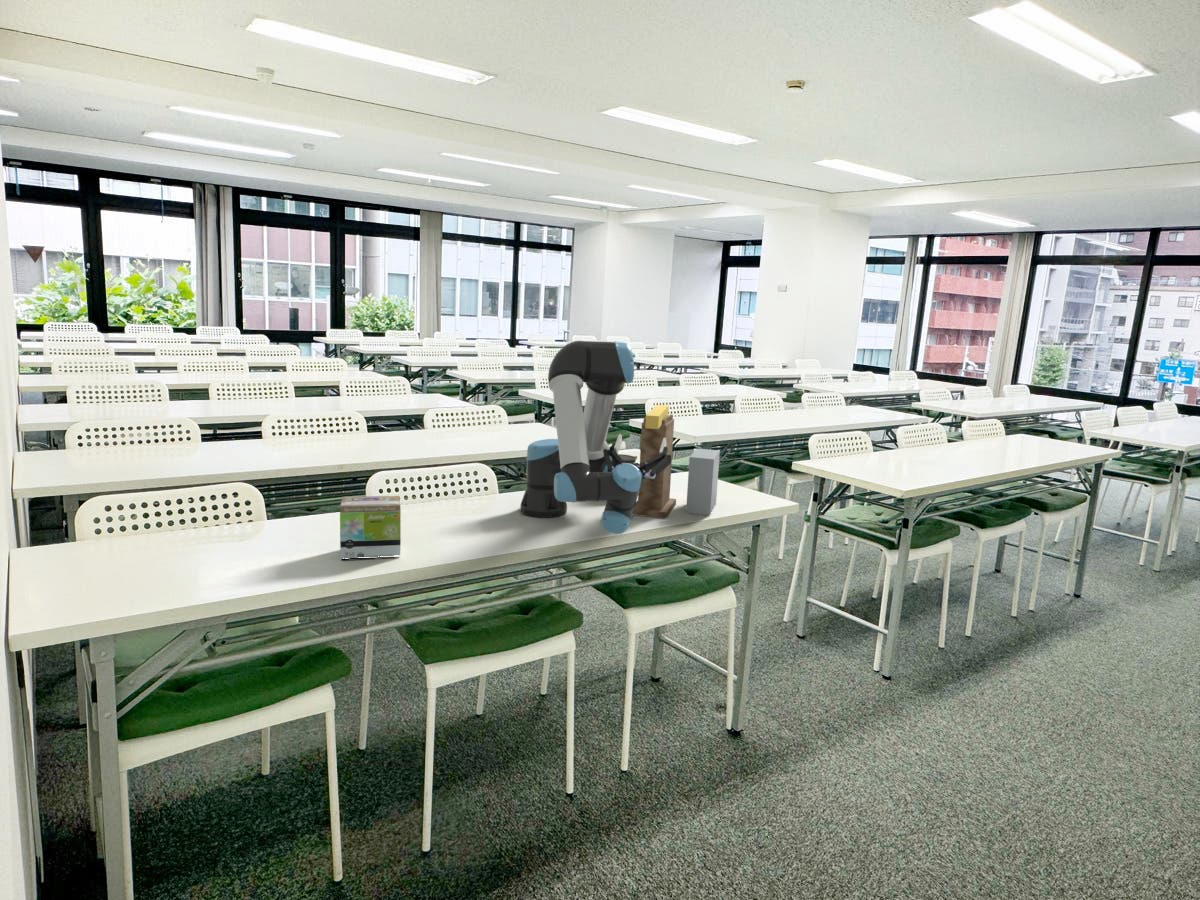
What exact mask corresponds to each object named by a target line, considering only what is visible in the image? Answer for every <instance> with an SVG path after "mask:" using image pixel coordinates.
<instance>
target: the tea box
mask: <svg viewBox="0 0 1200 900" xmlns="http://www.w3.org/2000/svg"><path fill="white" fill-rule="evenodd" d="M400 499H401V498H400V495H376V496H374V495H372V496H370V495H368V496H363V495H362V496H341V502H340V506H339V525H340V526H339V527H340V528H339V531H340V532H339V536H340V537H339V538H340V541H339V543H340V544H339V545H340V546H339V549H340V551H339V552H340V559H341V558H342V559H343V558H344V559H345V558H358V557H378V556H379V557H380V556H394V555H400V556H401V543H402V542H401V538H402V537H401V534H402V533H401V532H402V531H401V521H402V520H401V514H402V513H401V500H400Z"/></svg>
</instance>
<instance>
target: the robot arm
mask: <svg viewBox="0 0 1200 900" xmlns="http://www.w3.org/2000/svg"><path fill="white" fill-rule="evenodd" d="M632 350H633V349H632V347H631V345H630V344H628V342H624V341H623V342H621V341H616V340H615V341H593V340H592V341H591V340H575V341H572V342H569V343H567V344H566V345H564V346H562V348H560V349H559V350H558V351H557V353H556V354H555V355H554V357H553V359H552V361H551V363H550V366H549V368H548V374H547V375H548V376H547V381H548V388H549V390H550V391H551V392H552V393H553V394H552V396H553V402H554V403H553V405H554V415H555V416H554V417H555V425H556V433H557V434H556V435H557V438H546V439H540V440H536V441H534V442H531V443H530V444H528V446H527V451H526V458H525V459H526V485H525V486H526V488H525V491H524V494H523V497H522V499H521V503H520V509H519V510H520V513H522V514H524V515H526V516H529V517H533V518H555V517H560V516H564V515H565V514H567V511H568V504H567V503H578V502H579V503H581V502H582V503H583V502H605V505H604V506H605V507H604V509H603V512H602V514H601V519H600V523H601V526H602V528H603V529H604V530H605V531H606V532H608V533H611V534H613V535H620V534H623V533H625V532H627V530H628V528H629V525H630V524H631V519H632V516H633V515H632V514H633V510H634V507H635V504H636V502H637V501H638V494H639V491H640V488H641V485H642V482H643V479H645V478H650V479H651V481H654V480H655V478H656V476H657V475H658V474H659V473H661V472H662V471H663V470H664V469H665V468H666V467H667V466H668V465H669V464H671V455H667V453H668V448H667V447H666V445H667V444H666V438H663V441H662V445H661V448H660V451H659V455H658V456H656V457H654V458H652V459H650V460H649V461H647V462H642V463H641V464H640V462H639V463H638V462H635V463H629V462H628V463H626V462H625V461H624V460H622V459H621V457H620V456H619V455H618V454H619V452H620V448H621V446H622V442H623V437H622V433H619V434H618V436H617V439H616V441H615V442H613V443H612V444H611V445H609V444H608V442H607V436H608V432H609V429H610V428H609V427H610V423H611V419H612V415H613V411H614V407H615V403H616V397H617V395H618V394H620V393H621V392H622V391H623V390H624V388H625V384H627V385H628V384H631V383H633V381H634V377H635V363H634V362H635V361H634V355H633V351H632ZM584 383H585V385H586V387H587V393H586V397H585V398H586V399H585V403H584V406H583V401H582V390H581V389H582V388H583V386H584ZM612 459H613V460H614V461H615V463H616V464H617V466H616V467H615V468H614V467H613V466H612V462H611V461H612ZM671 465H672V464H671ZM652 468H653V469H652ZM650 469H652V470H650ZM649 470H650V471H649ZM648 471H649V472H648ZM647 472H648V473H647Z"/></svg>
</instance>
